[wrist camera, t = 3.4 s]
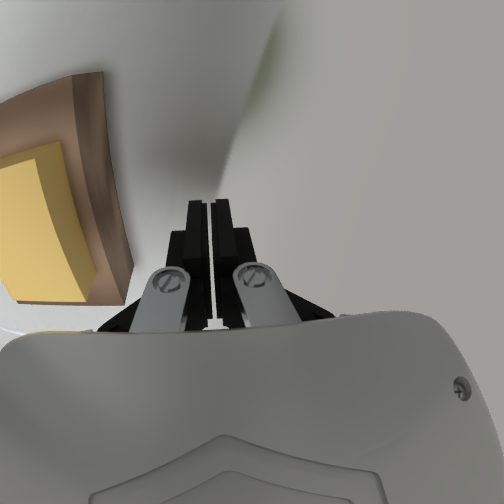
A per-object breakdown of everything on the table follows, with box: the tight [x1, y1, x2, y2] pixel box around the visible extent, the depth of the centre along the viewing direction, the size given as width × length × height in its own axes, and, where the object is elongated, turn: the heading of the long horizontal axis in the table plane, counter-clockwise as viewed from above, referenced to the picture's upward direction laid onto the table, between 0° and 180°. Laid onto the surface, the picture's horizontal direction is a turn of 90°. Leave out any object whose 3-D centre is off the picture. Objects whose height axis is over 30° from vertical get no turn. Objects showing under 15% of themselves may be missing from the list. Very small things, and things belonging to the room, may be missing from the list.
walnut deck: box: [0, 72, 134, 306], centre depth 13 cm, size 14×10×4 cm
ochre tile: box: [0, 141, 97, 302], centre depth 10 cm, size 8×6×2 cm
